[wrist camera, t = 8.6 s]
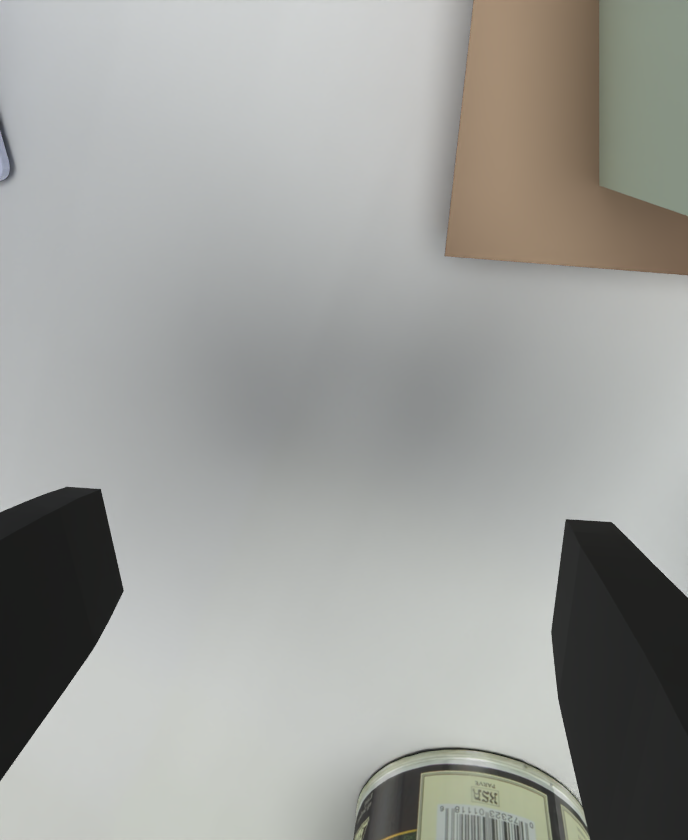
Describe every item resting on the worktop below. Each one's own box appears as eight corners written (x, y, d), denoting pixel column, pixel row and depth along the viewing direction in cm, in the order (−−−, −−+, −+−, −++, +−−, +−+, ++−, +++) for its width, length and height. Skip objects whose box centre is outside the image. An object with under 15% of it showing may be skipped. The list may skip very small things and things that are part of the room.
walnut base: (448, 233, 18) (444, 255, 14) (496, -182, 14) (507, -297, 10) (791, 258, 16) (884, 290, 13) (945, -192, 13) (1140, -327, 9)
